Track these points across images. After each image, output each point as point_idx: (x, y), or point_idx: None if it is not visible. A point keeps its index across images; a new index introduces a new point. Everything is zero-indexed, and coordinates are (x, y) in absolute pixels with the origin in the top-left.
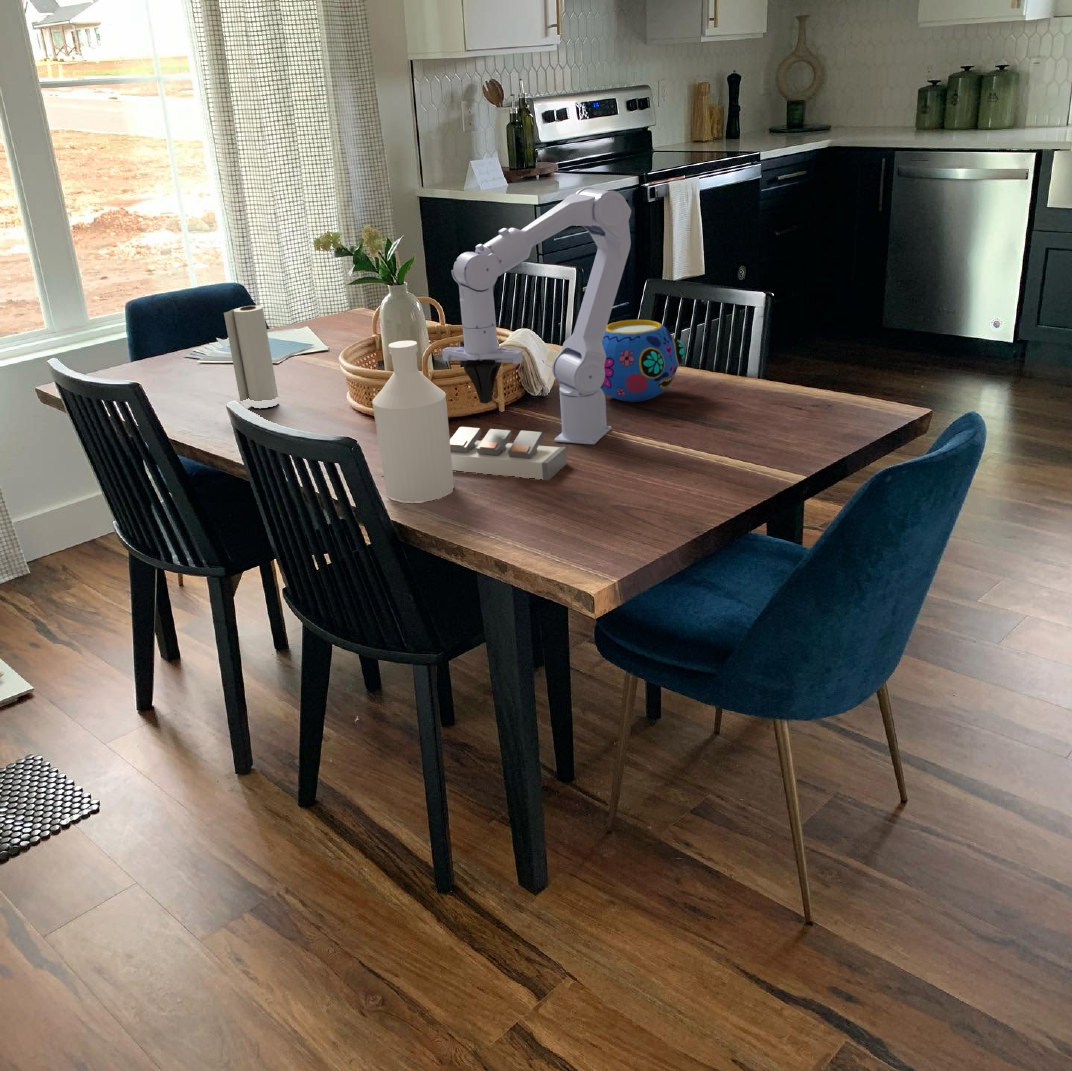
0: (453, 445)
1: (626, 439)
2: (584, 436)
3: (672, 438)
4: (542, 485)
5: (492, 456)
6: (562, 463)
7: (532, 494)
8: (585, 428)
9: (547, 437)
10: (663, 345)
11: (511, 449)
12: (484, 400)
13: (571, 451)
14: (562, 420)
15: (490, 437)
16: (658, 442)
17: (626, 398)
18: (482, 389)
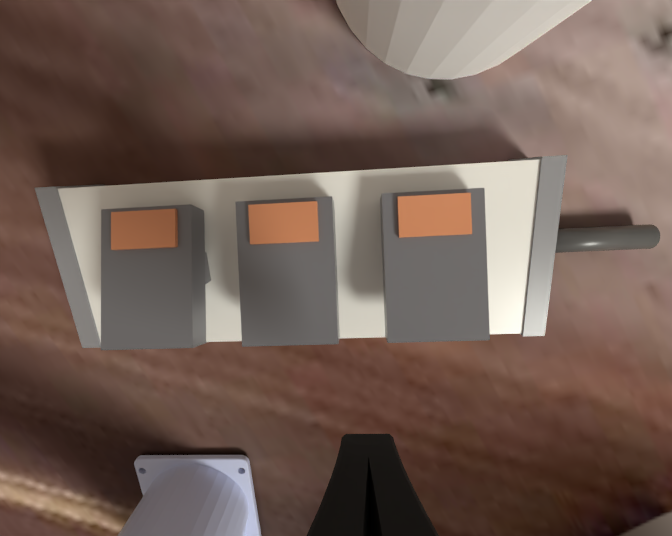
0: (446, 194)
1: (93, 502)
2: (159, 478)
3: (4, 524)
4: (79, 142)
5: (268, 198)
6: None
7: (57, 55)
8: (142, 501)
9: (286, 479)
10: None
11: (183, 222)
12: (355, 445)
13: (168, 406)
14: (210, 526)
15: (306, 282)
16: (15, 498)
17: None
18: (356, 517)
